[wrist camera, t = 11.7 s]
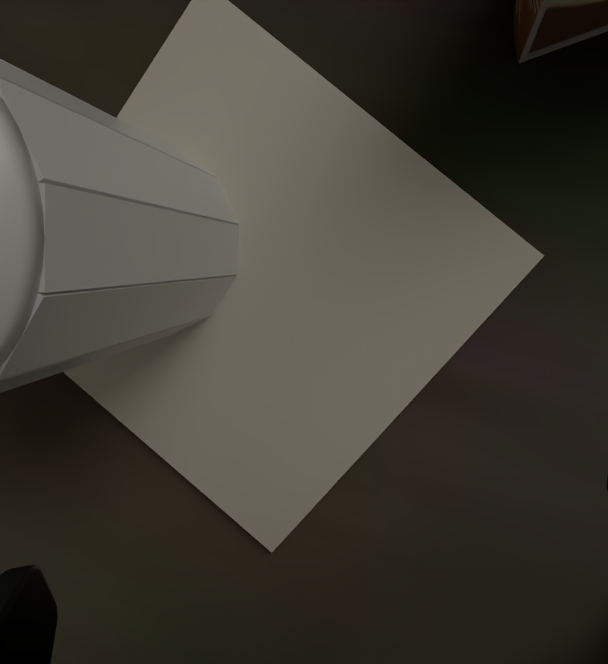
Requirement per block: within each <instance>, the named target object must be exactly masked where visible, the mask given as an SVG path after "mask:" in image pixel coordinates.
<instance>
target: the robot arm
mask: <svg viewBox="0 0 608 664" xmlns="http://www.w3.org/2000/svg"><path fill="white" fill-rule="evenodd" d="M607 490H608V476H607ZM56 625H57V606H56V602H55V600H54V597H53V595H52V593H51V591H50V588H49V586H48V584H47V581H46V579H45V577H44V575H43V572H42V570H41V569H40V568H39V567H38V566H37V565H27V566H23V567H18V568H13V569H10V570H7V571H5V572H4V573H3V574H1V575H0V664H50V663H51V657H52V650H53V644H54V638H55V632H56Z"/></svg>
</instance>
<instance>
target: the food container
mask: <svg viewBox="0 0 608 664" xmlns="http://www.w3.org/2000/svg"><path fill="white" fill-rule="evenodd" d="M513 23H514V43H515V49H516V55H517V60H518V64H519V63H521V62H524V61H527V60H530V59H533V58H535V57H538V56H541V55H544V54H546V53H549V52H552V51H555V50H557V49H560V48H563V47H566V46H568V45H571V44H574V43H577V42H579V41H582V40H585V39H588V38H590V37H593V36H596V35H599V34H601V33H604V32H607V31H608V0H515V7H514V14H513Z"/></svg>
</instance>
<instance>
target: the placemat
mask: <svg viewBox="0 0 608 664" xmlns="http://www.w3.org/2000/svg"><path fill="white" fill-rule="evenodd" d="M117 119H119V120H121V121H123V122H125V123H127V124H129V125H131V126H133V127H135V128H137V129H139V130H141V131H143V132H144V133H146V134H148V135H150V136H152V137H154V138H156V139H158V140H160V141H162V142H164V143H166V144H168V145H170V146H172V147H174V148H176V149H178V150H179V151H181V152H182V153H184V154H185V155H186V156H188V157H189V158H191V159H192V160H193V161H195V162H196V163H198V164H199V165H201V166H202V167H203V168H205V169H206V170H208V171H209V172H210V173H212V174H213V175H215V176H216V177H217V178H218V179H219V181H220V183H221V185H222V187H223V190H224V192H225V194H226V196H227V198H228V200H229V202H230V205H231V207H232V209H233V211H234V213H235V215H236V217H237V220H238V222H239V224H238V226H240V232H239V248H238V265H237V275H235V276H236V278H235V279H234V281H233V282H232V284H231V285H230V287H229V289H228V290H227V292H226V293H225V295H224V296H223V298H222V299H221V301H220V302H219V304H218V306H217V307H216V309H215V310H214V312H213V313H212V315H210V317H208V318H206V319H203V320H201V321H199V322H197V323H195V324H193V325H191V326H189V327H187V328H185V329H183V330H180V331H178V332H176V333H174V334H172V335H170V336H167V337H164V338H161V339H158V340H155V341H152V342H149V343H146V344H143V345H140V346H137V347H134V348H131V349H128V350H126V351H123V352H120V353H117V354H114V355H111V356H108V357H105V358H102V359H99V360H96V361H93V362H90V363H87V364H84V365H81V366H78V367H75V368H72V369H69V370H66V371H64V373H65V374H66V375H67V376H68V377H69V378H71V379H72V380H73V381H74V382H75V383H76V384H78V385H79V386H80V387H81V388H82V389H83V390H84V391H86V392H87V393H88V394H89V395H90V396H91V397H93V398H94V399H95V400H96V401H97V402H98V403H99V404H101V405H102V406H103V407H104V408H105V409H106V410H108V411H109V412H110V413H111V414H112V415H113V416H114V417H116V418H117V419H118V420H119V421H120V422H121V423H123V424H124V425H125V426H126V427H127V428H128V429H129V430H131V431H132V432H133V433H134V434H135V435H136V436H138V437H139V438H140V439H141V440H142V441H143V442H145V443H146V444H147V445H148V446H149V447H150V448H151V449H153V450H154V451H155V452H156V453H157V454H158V455H160V456H161V457H162V458H163V459H164V460H165V461H166V462H168V463H169V464H170V465H171V466H172V467H173V468H175V469H176V470H177V471H178V472H179V473H180V474H181V475H183V476H184V477H185V478H186V479H187V480H188V481H190V482H191V483H192V484H193V485H194V486H195V487H196V488H198V489H199V490H200V491H201V492H202V493H203V494H205V495H206V496H207V497H208V498H209V499H210V500H212V501H213V502H214V503H215V504H216V505H217V506H218V507H220V508H221V509H222V510H223V511H224V512H225V513H227V514H228V515H229V516H230V517H231V518H232V519H233V520H235V521H236V522H237V523H238V524H239V525H240V526H242V527H243V528H244V529H245V530H246V531H247V532H248V533H250V534H251V535H252V536H253V537H254V538H255V539H257V540H258V541H259V542H260V543H261V544H262V545H263V546H265V547H266V548H267V549H268V550H269V551H270V552H273V551H274V550H275V549H276V548H277V547H278V545H279V544H280V543H281V542H282V541H283V540H284V539H285V538H286V537H287V536H288V535H289V533H290V532H291V531H292V530H293V529H294V528H295V527H296V526H297V525H298V524H299V523H300V521H301V520H302V519H303V518H304V517H305V516H306V515H307V514H308V513H309V512H310V511H311V509H312V508H313V507H314V506H315V505H316V504H317V503H318V502H319V501H320V500H321V499H322V497H323V496H324V495H325V494H326V493H327V492H328V491H329V490H330V489H331V488H332V487H333V485H334V484H335V483H336V482H337V481H338V480H339V479H340V478H341V477H342V476H343V475H344V473H345V472H346V471H347V470H348V469H349V468H350V467H351V466H352V465H353V464H354V463H355V462H356V460H357V459H358V458H359V457H360V456H361V455H362V454H363V453H364V452H365V451H366V450H367V448H368V447H369V446H370V445H371V444H372V443H373V442H374V441H375V440H376V439H377V438H378V436H379V435H380V434H381V433H382V432H383V431H384V430H385V429H386V428H387V427H388V426H389V424H390V423H391V422H392V421H393V420H394V419H395V418H396V417H397V416H398V415H399V414H400V412H401V411H402V410H403V409H404V408H405V407H406V406H407V405H408V404H409V403H410V402H411V400H412V399H413V398H414V397H415V396H416V395H417V394H418V393H419V392H420V391H421V390H422V388H423V387H424V386H425V385H426V384H427V383H428V382H429V381H430V380H431V379H432V378H433V376H434V375H435V374H436V373H437V372H438V371H439V370H440V369H441V368H442V367H443V366H444V364H445V363H446V362H447V361H448V360H449V359H450V358H451V357H452V356H453V355H454V354H455V352H456V351H457V350H458V349H459V348H460V347H461V346H462V345H463V344H464V343H465V342H466V340H467V339H468V338H469V337H470V336H471V335H472V334H473V333H474V332H475V331H476V330H477V328H478V327H479V326H480V325H481V324H482V323H483V322H484V321H485V320H486V319H487V318H488V316H489V315H490V314H491V313H492V312H493V311H494V310H495V309H496V308H497V307H498V306H499V305H500V303H501V302H502V301H503V300H504V299H505V298H506V297H507V296H508V295H509V294H510V293H511V291H512V290H513V289H514V288H515V287H516V286H517V285H518V284H519V283H520V282H521V281H522V279H523V278H524V277H525V276H526V275H527V274H528V273H529V272H530V271H531V270H532V269H533V267H534V266H535V265H536V264H537V263H538V262H539V261H540V260H541V259H542V258H543V257H544V255H543V254H541V253H540V252H539V251H538V250H536V249H535V248H534V247H533V246H531V245H530V244H529V243H528V242H526V241H525V240H524V239H523V238H522V237H520V236H519V235H518V234H517V233H515V232H514V231H513V230H512V229H510V228H509V227H508V226H507V225H505V224H504V223H503V222H502V221H500V220H499V219H498V218H497V217H496V216H494V215H493V214H492V213H491V212H489V211H488V210H487V209H486V208H484V207H483V206H482V205H481V204H479V203H478V202H477V201H476V200H474V199H473V198H472V197H471V196H470V195H468V194H467V193H466V192H465V191H463V190H462V189H461V188H460V187H458V186H457V185H456V184H455V183H453V182H452V181H451V180H450V179H448V178H447V177H446V176H445V175H444V174H442V173H441V172H440V171H439V170H437V169H436V168H435V167H434V166H432V165H431V164H430V163H429V162H427V161H426V160H425V159H424V158H422V157H421V156H420V155H419V154H418V153H416V152H415V151H414V150H413V149H411V148H410V147H409V146H408V145H406V144H405V143H404V142H403V141H401V140H400V139H399V138H398V137H396V136H395V135H394V134H393V133H392V132H390V131H389V130H388V129H387V128H385V127H384V126H383V125H382V124H380V123H379V122H378V121H377V120H375V119H374V118H373V117H372V116H370V115H369V114H368V113H367V112H366V111H364V110H363V109H362V108H361V107H359V106H358V105H357V104H356V103H354V102H353V101H352V100H351V99H349V98H348V97H347V96H346V95H344V94H343V93H342V92H341V91H340V90H338V89H337V88H336V87H335V86H333V85H332V84H331V83H330V82H328V81H327V80H326V79H325V78H323V77H322V76H321V75H320V74H318V73H317V72H316V71H315V70H314V69H312V68H311V67H310V66H309V65H307V64H306V63H305V62H304V61H302V60H301V59H300V58H299V57H297V56H296V55H295V54H294V53H292V52H291V51H290V50H289V49H288V48H286V47H285V46H284V45H283V44H281V43H280V42H279V41H278V40H276V39H275V38H274V37H273V36H271V35H270V34H269V33H268V32H266V31H265V30H264V29H263V28H262V27H260V26H259V25H258V24H257V23H255V22H254V21H253V20H252V19H250V18H249V17H248V16H247V15H245V14H244V13H243V12H242V11H240V10H239V9H238V8H237V7H236V6H234V5H233V4H232V3H231V2H229V1H228V0H192V1H191V2H190V4H189V5H188V7H187V8H186V10H185V12H184V13H183V15H182V16H181V18H180V19H179V21H178V22H177V24H176V26H175V27H174V29H173V30H172V32H171V33H170V35H169V37H168V38H167V40H166V41H165V43H164V44H163V46H162V47H161V49H160V51H159V52H158V54H157V55H156V57H155V58H154V60H153V62H152V63H151V65H150V66H149V68H148V69H147V71H146V73H145V74H144V76H143V77H142V79H141V80H140V82H139V83H138V85H137V87H136V88H135V90H134V91H133V93H132V94H131V96H130V98H129V99H128V101H127V102H126V104H125V105H124V107H123V108H122V110H121V112H120V113H119V115H118V116H117Z"/></svg>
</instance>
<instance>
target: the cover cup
mask: <svg viewBox="0 0 608 664" xmlns="http://www.w3.org/2000/svg"><path fill="white" fill-rule="evenodd" d="M238 224H239V222H238V220H237V217H236V215H235V213H234V211H233V209H232V207H231V205H230V202H229V200H228V198H227V196H226V194H225V192H224V190H223V187H222V185H221V183H220V181H219V179H218V178H217V177H216V176H215V175H213V174H212V173H210V172H209V171H208V170H206V169H205V168H203V167H202V166H201V165H199V164H198V163H196V162H195V161H193V160H192V159H191V158H189V157H188V156H186V155H185V154H184V153H182V152H181V151H179V150H178V149H176V148H174V147H172V146H170V145H168V144H166V143H164V142H162V141H160V140H158V139H156V138H154V137H152V136H150V135H148V134H146V133H144V132H143V131H141V130H139V129H137V128H135V127H133V126H131V125H129V124H127V123H125V122H123V121H121V120H119V119H117V118H115V117H113V116H111V115H109V114H107V113H105V112H103V111H101V110H99V109H97V108H95V107H94V106H92V105H90V104H88V103H86V102H84V101H82V100H80V99H78V98H76V97H74V96H72V95H70V94H68V93H66V92H64V91H62V90H60V89H58V88H56V87H54V86H52V85H50V84H48V83H46V82H45V81H43V80H41V79H39V78H37V77H35V76H33V75H31V74H29V73H27V72H25V71H23V70H21V69H19V68H17V67H15V66H13V65H11V64H9V63H7V62H5V61H3V60H1V59H0V393H2V392H4V391H7V390H10V389H13V388H16V387H19V386H22V385H25V384H28V383H31V382H34V381H37V380H40V379H43V378H46V377H49V376H52V375H55V374H58V373H61V372H64V371H66V370H69V369H72V368H75V367H78V366H81V365H84V364H87V363H90V362H93V361H96V360H99V359H102V358H105V357H108V356H111V355H114V354H117V353H120V352H123V351H126V350H128V349H131V348H134V347H137V346H140V345H143V344H146V343H149V342H152V341H155V340H158V339H161V338H164V337H167V336H170V335H172V334H174V333H176V332H178V331H180V330H183V329H185V328H187V327H189V326H191V325H193V324H195V323H197V322H199V321H201V320H203V319H206V318H208V317H210V315H212V313H213V312H214V310H215V309H216V307H217V306H218V304H219V302H220V301H221V299H222V298H223V296H224V295H225V293H226V292H227V290H228V289H229V287H230V285H231V284H232V282H233V281H234V279H235V278H236V276H235V275H237V265H238V248H239V232H240V226H238Z"/></svg>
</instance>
